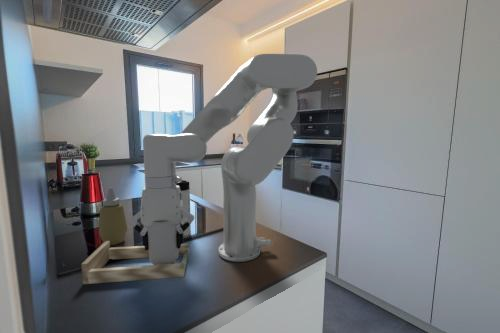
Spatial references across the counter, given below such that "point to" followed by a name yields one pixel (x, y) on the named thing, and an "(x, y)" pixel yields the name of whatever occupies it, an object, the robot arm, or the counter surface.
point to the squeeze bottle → (112, 220)
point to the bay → (100, 257)
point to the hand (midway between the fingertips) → (163, 246)
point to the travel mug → (185, 204)
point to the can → (162, 243)
